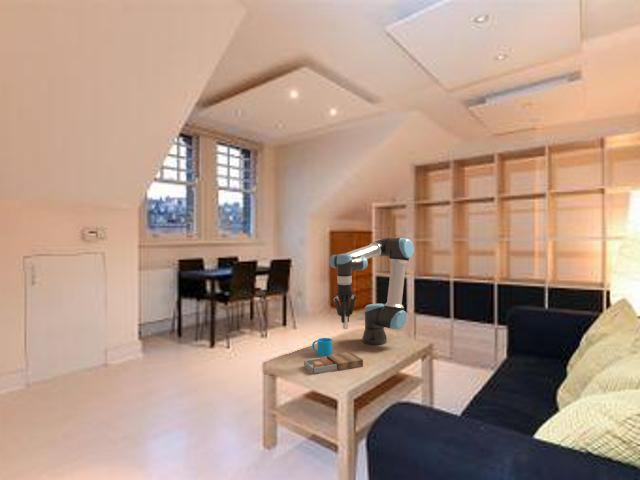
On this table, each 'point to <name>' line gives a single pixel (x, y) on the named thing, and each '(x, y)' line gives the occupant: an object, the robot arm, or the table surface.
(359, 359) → the brown square slab
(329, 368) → the tray
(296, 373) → the table surface
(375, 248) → the robot arm
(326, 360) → the tile
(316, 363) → the tile
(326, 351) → the mug
